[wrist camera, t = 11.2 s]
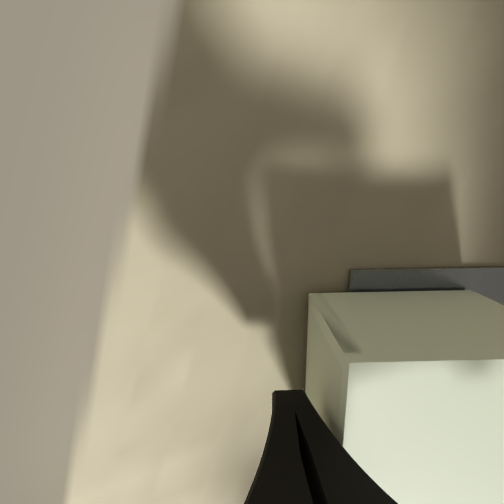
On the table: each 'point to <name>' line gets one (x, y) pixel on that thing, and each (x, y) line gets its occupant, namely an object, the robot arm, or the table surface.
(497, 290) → the seat
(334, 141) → the table surface
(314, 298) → the block
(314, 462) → the robot arm
